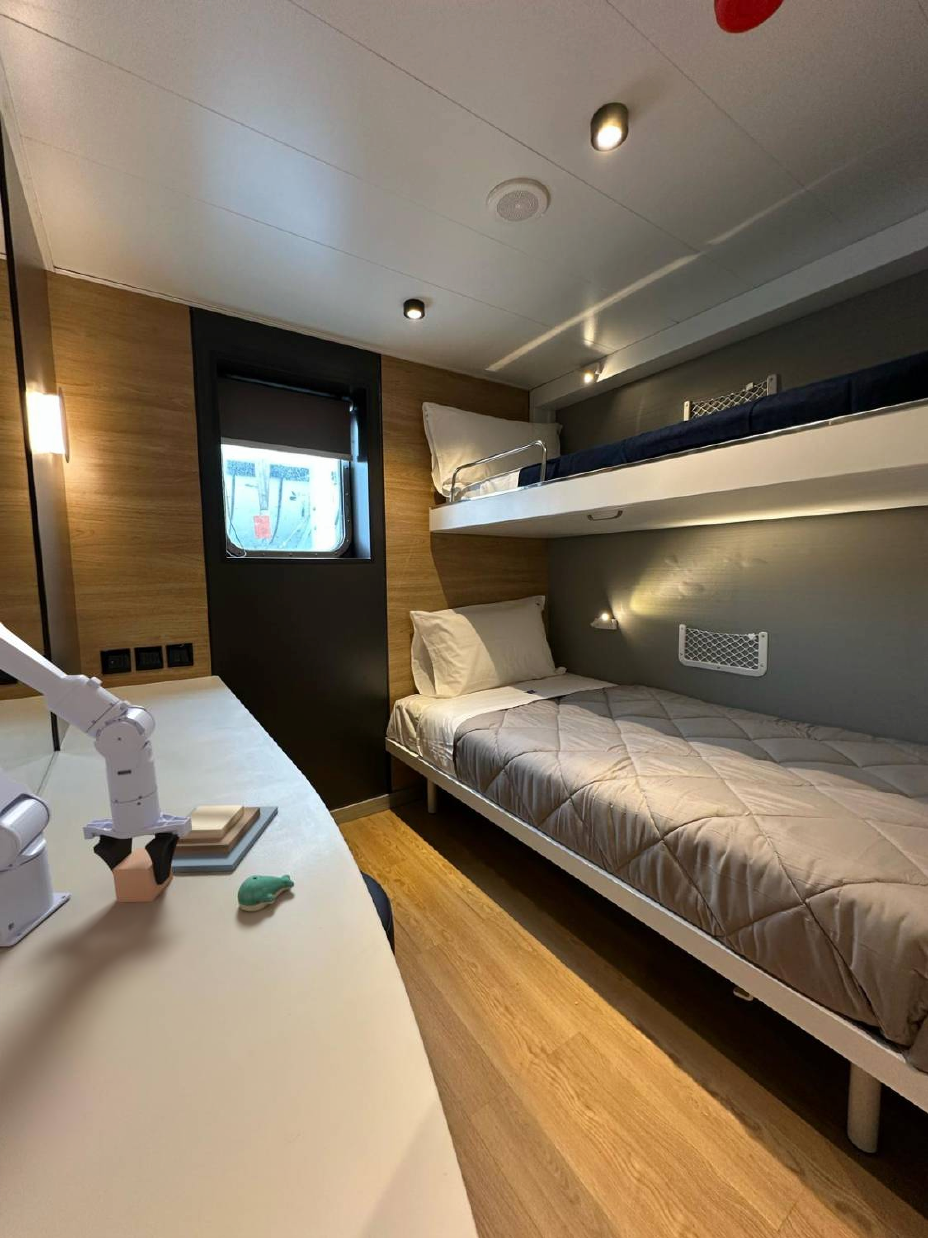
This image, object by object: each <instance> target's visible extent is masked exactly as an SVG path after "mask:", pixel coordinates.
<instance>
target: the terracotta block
mask: <svg viewBox="0 0 928 1238" xmlns="http://www.w3.org/2000/svg"><path fill="white" fill-rule="evenodd" d="M112 875H113V883H114V890H115V899H116V903H132V902H133V903H137V902H138V903H139V902H153V901H154V900H155V898H156V897H158V895H159V894H160V893H161V892H162V891H163V889H165V887H166V886H168V884H169V883H170V882H172V880H173V879H174V877H173V872H172V867H171V870H170V877H169V878H168V879H167V880H166V881H165V882H164V883H163V884H162V885H157V883H156V880H155V876H154V869H153V864H152V861H151V858H150V856H149V854H148V852H147V851H146V850H145V847H144V848H143V847H142V848H136V849H134V850H133V851H132V853H131V854H130V855H129V856H128V857H126V858H125V859H124V860H123V861H122V862H121V863H120V864H118V865H117V866H116V867H115V868H114V869H113V873H112Z"/></svg>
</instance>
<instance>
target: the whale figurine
mask: <svg viewBox="0 0 928 1238" xmlns="http://www.w3.org/2000/svg"><path fill="white" fill-rule="evenodd" d="M294 887H295V882H294V881H293V880H291V876H290V875H289V874H284V875H282V876H281V877H278V876H273V875H255V874H254V875H251V876H249V877H247V878H246V879H245V880H244V881H243V882H242V883H241V884H240V886H239V889H238V892H237V902H238V906H239V907H240V909H241V910H243V911H247V912H257V911H260V910H262V909H264V908H265V907H267V906H268V905H272V904H274V902H275V901H276V898H278V897H279V895H280V894H281V893H282V892H283V891H286V890H287V891H288V890H291V889H293V888H294Z"/></svg>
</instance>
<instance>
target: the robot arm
mask: <svg viewBox="0 0 928 1238" xmlns="http://www.w3.org/2000/svg"><path fill="white" fill-rule="evenodd" d="M1 670H2V671H3V672H4V673H6V674H8V675H10V676H11V677H13V678H15V679H17V680H18V681H21V682H22V683H24V684H25V685H27V686H28V687H30V688H32V689H34V690H35V691H37V692H39V693H40V694H43V695H44V701H45V708H46V709H47V710H48V711H50V712H52V713H53V714H54V715H56V716H57V717H59V718H60V719H62V720H64V721H65V722H66V723H68V724H70V725H71V726H73V727H75V728H76V729H78V730H79V731H81V732H82V733H84V734H85V735H87V736H88V737H90V738H93V739H96V740H94V741H93V746H94V748H95V750H96V752H98V753H99V755H100V756H101V757H103V758H104V761H105V773H106V774H105V775H106V780H107V790H108V798H109V804H110V813H111V817H108V818H103V819H102V818H101V819H93V820H91V821H89V822H88V823H86V824H85V825H84V826H83V827H82V829H83V836H84V837H83V838H84V840H92V839H94V838H96V837H99V840H98V843H96V844H94V846H93V847H92V848H93V853H94V854H96V856H98V857H99V858H101V860H102V861H103V862H104V863H105V864H106V865H107V867H108V868H109V869H110V871H111V873H112V874H113V869H114V868H115V867H116V866H117V865H118V864H120V863H121V862H122V861H123V860H124V859H125V858H126V857H128V856H129V855H130V854H131V853H132V852H133V851H132V850H133V849H132V848H133V838H137V837H143V836H154V838H152V839H151V840H150V841H149V842H147V844H145V846H144V848H145V850H146V851H147V852H148V854H149V856H150V858H151V861H152V864H153V869H154V876H155V880H156V883H157V885H162V884H163V883H164V882H165V881H166V880H167V879H168V878H169V877H170V870H171V864H172V859H173V855H174V851H175V848H176V846H177V843H178V841H179V838H180V837H185V836H186V835H187V834H188V833H189V832H190V831H191V830H192V823H191V817H186V816H180V815H179V816H178V815H174V814H169V813H165V812H162V809H161V808H160V807H161V806H160V799H159V798H160V797H159V792H158V790H159V789H158V782H157V771H156V764H155V757H154V753H153V745H152V740H151V739H150V738H151V737H152V735H153V733H154V731H155V728H156V721H155V718H154V717H153V715H152V713H150V711H148V710H147V708H146V707H144V706H140V705H134V704H132V703H131V702H129V701H128V700H127V699H125V700H124V701H123V700H121V699H120V698H118V697H117V696H115V695H114V694H112V693H111V692H109V691H108V690H107V689H105V688H104V687H102V685H101V684H102V683H103V682H102V680H101V679H99V678H98V677H96V676H93V677H91V678H89V677H88V676H86V675H85V674H76V675H75V674H74V675H73V674H69V675H68V674H66V673H65V672H63V671H62V670H61V669H60V668H58V667H57V666H56V665H54V663H52V662H51V661H49V660H48V659H47V658H46V657H44V656H43V655H42V654H40V653H39V652H38V651H37V650H35V649H34V648H33V647H31V646H29V645H28V643H26V642H25V641H23V640H22V639H20V638H19V636H17V635H15V634H14V633H13V632H11V631H10V630H9V629H7V627H5V626H4V624H3V623H2V622H1V621H0V671H1ZM149 739H150V740H149ZM51 819H52V809H51V806H50V805H49V803H48V802H47V801H46V800H45V799H43V797H39V796H37V795H36V794H35V793H33V792H32V791H31V790H30V788H29V787H28V785H27V784H26V783H23V782H21V781H20V782H19V781H17V780H12V779H10V778H9V777H8V775H7V774H6V772H5V770H4V769H3V768H2V766H1V765H0V947H11V946H14V945H15V944H17V943H18V942H19V941H20V940H21V939H23V938H24V937H25V936H26V935H27V934H29V932H31V931H32V930H33V929H34V928H35V927H37V926H38V925H39V924H40V923H41V922H42V921H44V920H45V919H46V918H48V916H50V915H51V914H52V913H53V912H54V911H55V910H57V909H58V908H59V907H60V906H62V905H63V903H65V902H66V901H67V900H69V899H70V898H71V897H72V893H71V892H54V888H53V887H54V886H53V881H52V874H51V867H50V861H49V854H48V847H47V841H46V838H45V836H44V830H45V829H46V828H47V826H48V825H49V823H50V821H51Z"/></svg>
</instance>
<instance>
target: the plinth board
mask: <svg viewBox="0 0 928 1238" xmlns="http://www.w3.org/2000/svg"><path fill="white" fill-rule="evenodd" d="M278 807H279V806H278V805H275V806H274V805H272V806H245V805H244V804H235V805H234V804H233V805H229V804H228V805H200V806H198V807H197V808H194V809H193V810H191V811H190V812H189V813H188V814H187V815H186V816H185V817H191V823H192V830H191V831H190V832H189V833H188V834H187V835H186V836H185V837H180V838H179V841H178V843H177V846H176V848H175V851H174V855H173V859H172V864H171V867H172V873H188V872H189V873H191V872H192V873H193V872H231V871H232V872H233V871H234V870H235V868H236V867H237V866H238V865H239V864H240V862H241V861H242V860H243V858H244V857H245V855H246V854H247V853H248V851H249V850H250V849H251V847H252V846H253V844H254V843H255V842H256V841H257V840H258V838H259V837H260V836H261V834H262V833H263V831H264V830H265V829H266V828H267V827H268V825H269V824H270V823H271V821H272V820H273V819H274V818H275V816H276V814H277V813H278V812H279V808H278Z"/></svg>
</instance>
